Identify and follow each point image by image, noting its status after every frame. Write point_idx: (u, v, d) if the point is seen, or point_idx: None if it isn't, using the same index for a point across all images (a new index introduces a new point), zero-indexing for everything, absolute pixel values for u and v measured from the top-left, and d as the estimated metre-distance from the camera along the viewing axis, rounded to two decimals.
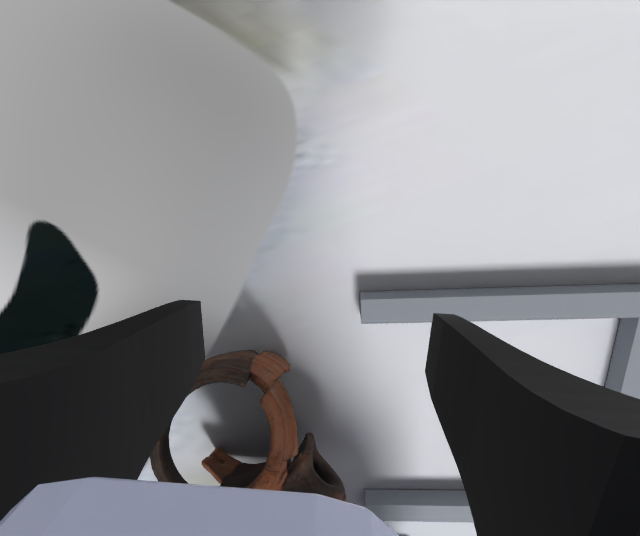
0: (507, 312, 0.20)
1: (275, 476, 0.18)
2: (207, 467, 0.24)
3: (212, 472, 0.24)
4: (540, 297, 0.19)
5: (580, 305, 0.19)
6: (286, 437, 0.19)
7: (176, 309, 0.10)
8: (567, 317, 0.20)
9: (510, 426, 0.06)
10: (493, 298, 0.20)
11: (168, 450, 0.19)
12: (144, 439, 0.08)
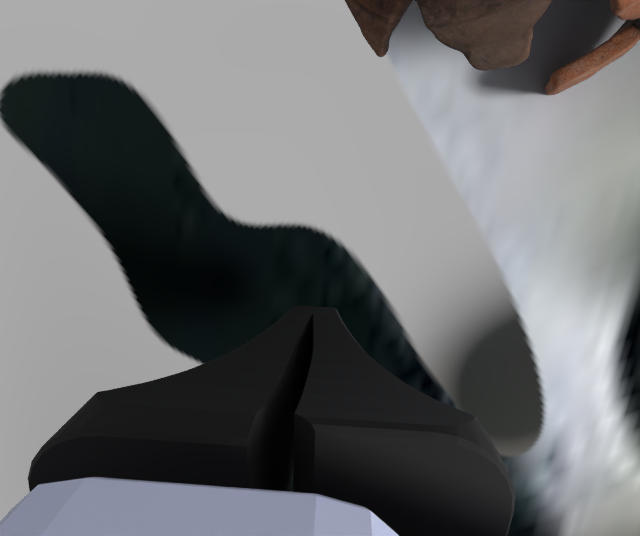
0: None
1: None
2: (575, 66, 0.10)
3: (594, 55, 0.09)
4: None
5: None
6: None
7: (308, 316, 0.09)
8: None
9: None
10: None
11: None
12: (293, 450, 0.08)
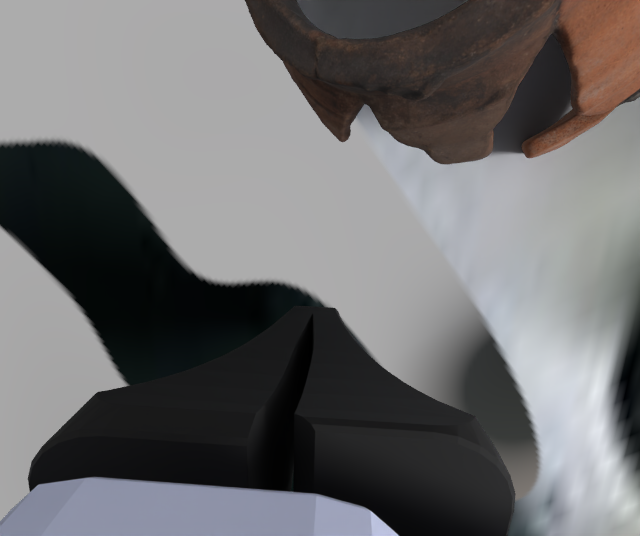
0: None
1: None
2: (547, 137, 0.09)
3: (566, 127, 0.09)
4: None
5: None
6: None
7: (307, 316, 0.09)
8: None
9: None
10: None
11: None
12: (293, 450, 0.08)
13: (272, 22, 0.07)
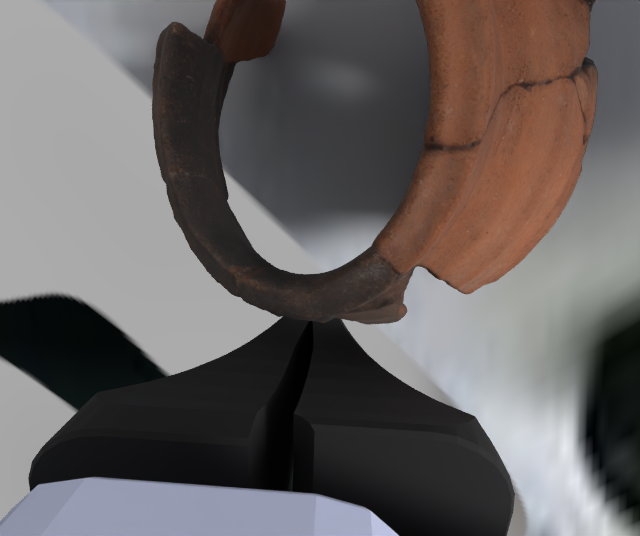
0: None
1: None
2: None
3: None
4: None
5: None
6: None
7: None
8: None
9: None
10: None
11: (297, 274, 0.07)
12: None
13: (201, 251, 0.08)
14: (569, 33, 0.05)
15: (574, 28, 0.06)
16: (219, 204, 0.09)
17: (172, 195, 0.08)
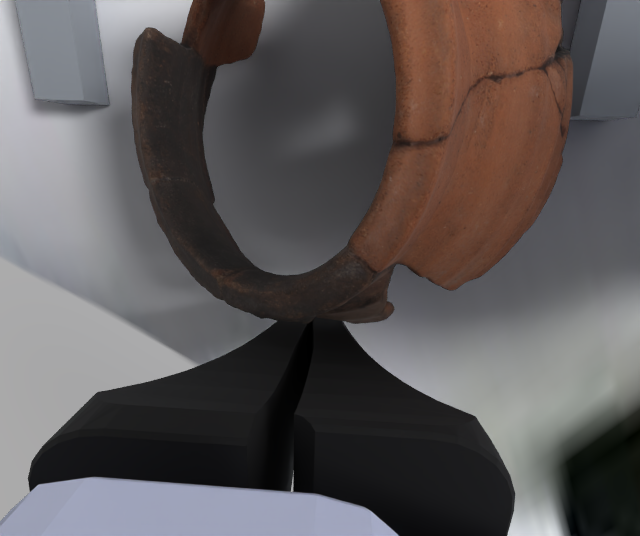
0: None
1: None
2: None
3: None
4: None
5: None
6: None
7: None
8: None
9: None
10: None
11: (280, 275, 0.07)
12: (293, 450, 0.08)
13: (184, 255, 0.08)
14: (538, 24, 0.05)
15: (544, 18, 0.05)
16: (203, 208, 0.09)
17: (155, 200, 0.08)
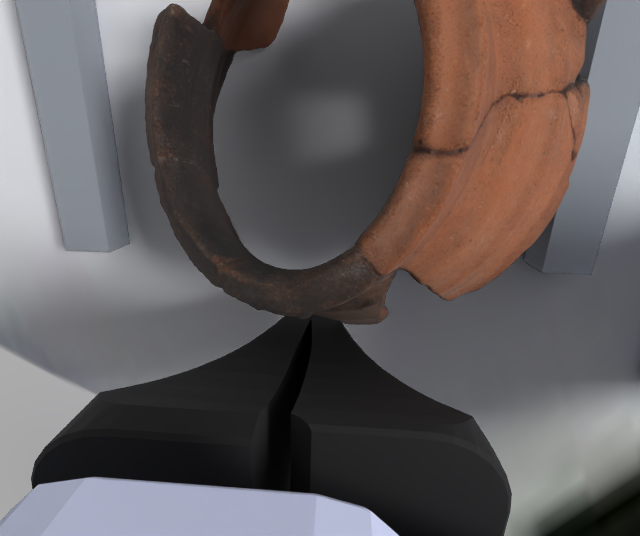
0: None
1: None
2: None
3: None
4: None
5: None
6: None
7: None
8: None
9: None
10: None
11: (280, 268, 0.07)
12: None
13: (185, 238, 0.08)
14: (564, 48, 0.05)
15: (570, 44, 0.06)
16: (207, 192, 0.09)
17: (160, 179, 0.08)
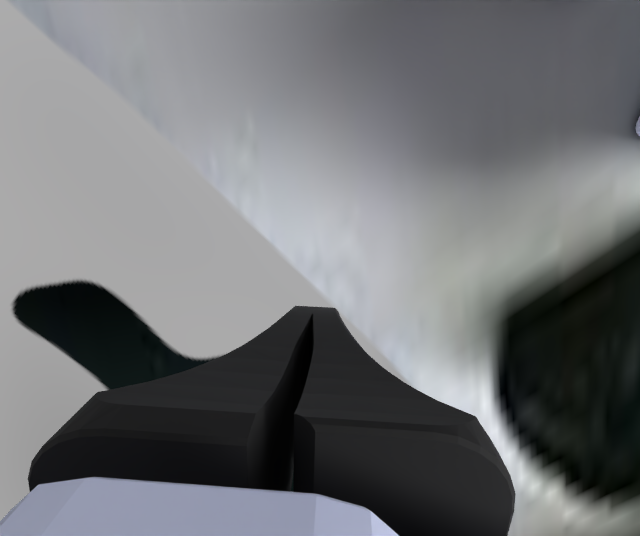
0: None
1: None
2: None
3: None
4: None
5: None
6: None
7: (308, 316, 0.09)
8: None
9: None
10: None
11: None
12: (293, 450, 0.08)
13: None
14: None
15: None
16: None
17: None
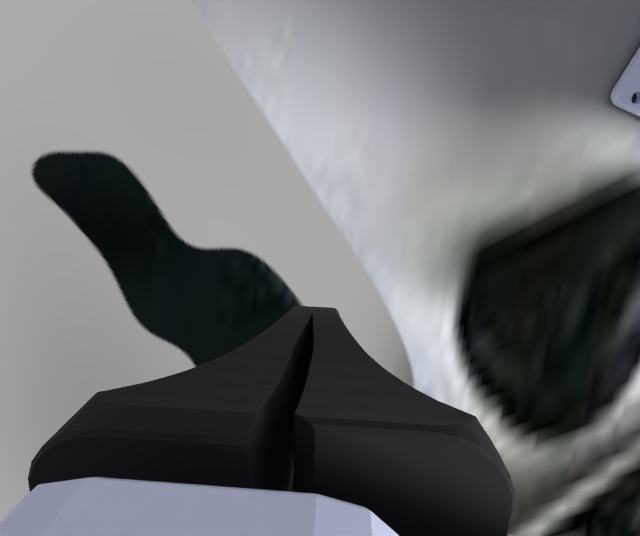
0: None
1: None
2: None
3: None
4: None
5: None
6: None
7: (307, 316, 0.09)
8: None
9: None
10: None
11: None
12: (293, 450, 0.08)
13: None
14: None
15: None
16: None
17: None
